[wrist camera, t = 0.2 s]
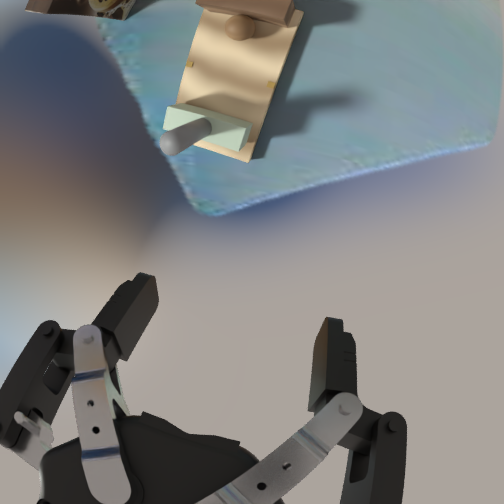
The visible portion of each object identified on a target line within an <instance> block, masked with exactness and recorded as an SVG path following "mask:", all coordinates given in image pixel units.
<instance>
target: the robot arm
mask: <svg viewBox="0 0 504 504" xmlns="http://www.w3.org/2000/svg"><path fill="white" fill-rule="evenodd" d="M158 302H159V297H158V291H157V285H156V279H155V276H152V275H148V274H145V273H141V272H140V273H138V274H137V275H136V277H135V278H134V279H133V281H130V280H127V281H126V282H124V283H123V284H121V285H120V286H119V287H118V288H117V290H116V291H115V292H114V295H112V296H111V298H110V299H109V301H108V302H107V303H106V305H105V306H104V307H103V309H102V310H101V311H100V313H99V314H98V315H97V317H96V318H95V320H94V321H93V322H92V324H91V325H84V326H81V327H80V328H79V329H77V330H67V329H61V328H60V326H59V324H58V323H57V322H56V321H53V320H48V321H45V322H43V323H42V324H41V325H40V326H39V327H38V328H37V330H36V331H35V333H34V334H33V336H32V337H31V339H30V340H29V342H28V343H27V345H26V346H25V348H24V350H23V351H22V353H21V354H20V356H19V358H18V359H17V361H16V363H15V364H14V366H13V368H12V369H11V371H10V373H9V375H8V376H7V378H6V380H5V382H4V383H3V385H2V387H1V389H0V444H1V445H2V446H3V447H5V448H7V449H8V450H10V451H12V452H14V453H16V454H17V455H18V456H20V457H21V458H22V459H23V460H25V461H26V462H27V463H29V464H30V465H31V466H33V467H34V468H35V469H37V470H38V471H39V477H40V497H39V500H38V502H37V504H284V502H283V500H282V499H281V497H282V496H284V495H285V494H286V493H287V492H288V491H289V490H291V489H292V488H293V487H294V486H295V485H297V483H299V482H300V481H301V480H302V479H303V478H305V477H306V476H307V475H308V474H309V473H310V472H311V471H312V470H313V469H314V468H315V467H316V466H317V465H318V464H320V462H322V461H323V460H324V458H325V457H326V456H327V455H328V453H329V451H330V450H331V449H332V448H333V447H334V446H335V445H336V444H337V445H340V446H343V447H345V448H347V449H349V454H348V461H347V467H346V473H345V480H344V485H343V491H342V495H341V500H340V504H402V497H403V488H404V478H405V465H406V446H407V424H406V421H405V419H404V418H403V417H402V415H400V414H399V413H397V412H387V413H385V414H384V415H382V414H379V413H377V412H374V411H372V410H370V409H368V408H366V407H365V406H364V405H362V403H361V401H360V400H359V398H358V395H357V368H356V367H357V364H356V343H355V341H354V339H353V337H352V334H351V333H348V332H343V320H342V319H336V318H331V317H326V318H325V320H324V322H323V324H322V327H321V329H320V331H319V333H318V335H317V337H316V340H315V345H314V351H313V363H312V374H311V386H310V394H309V404H308V411H310V412H314V417H313V418H312V419H311V420H310V421H309V422H308V423H307V424H306V425H305V426H304V427H302V428H301V429H300V430H298V431H297V432H296V433H295V434H294V435H293V436H291V437H290V438H289V439H288V440H287V441H285V442H284V443H283V444H282V445H281V446H279V447H278V448H277V449H276V450H274V451H273V452H272V453H271V454H269V455H268V456H267V457H265V458H264V459H263V460H262V461H259V460H258V459H257V458H256V457H255V456H254V455H253V454H252V453H251V452H249V451H248V450H246V449H245V448H243V447H241V446H239V444H240V441H236V440H231V439H227V438H223V437H219V436H214V435H197V434H188V433H186V432H184V431H182V430H181V429H179V428H177V427H176V426H174V425H173V424H171V423H169V422H168V421H166V420H165V419H162V418H159V417H156V416H154V415H151V414H149V413H146V412H144V411H143V412H142V415H141V416H135V415H132V416H130V413H129V410H128V407H127V405H126V402H125V400H124V397H123V392H122V388H121V383H120V379H119V374H118V368H117V364H116V363H117V362H118V360H119V359H122V360H124V361H127V360H128V358H129V356H130V355H131V353H132V351H133V349H134V347H135V346H136V344H137V342H138V340H139V339H140V337H141V335H142V333H143V332H144V330H145V328H146V326H147V325H148V323H149V321H150V320H151V318H152V316H153V315H154V313H155V311H156V309H157V306H158ZM51 361H52V362H51ZM49 364H50V365H49ZM48 366H49V367H48ZM47 368H48V369H47ZM45 371H46V372H45ZM44 373H45V374H44ZM43 375H44V376H43ZM74 376H75V377H74ZM70 384H71V386H72V395H73V403H74V410H75V416H76V422H77V428H78V433H79V437H77V438H75V439H73V440H71V441H69V442H66V443H64V444H61V445H59V446H57V447H54V448H52V447H51V443H52V442H53V440H54V437H53V432H52V428H51V424H52V421H53V419H54V417H55V415H56V413H57V410H58V408H59V406H60V404H61V402H62V400H63V398H64V396H65V394H66V392H67V390H68V388H69V386H70Z"/></svg>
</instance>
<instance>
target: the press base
mask: <svg viewBox="0 0 504 504" xmlns="http://www.w3.org/2000/svg"><path fill="white" fill-rule="evenodd" d="M196 4H197V5H199V6H201V7H203V8H204V10H203V13H202V16H201V19H200V22H199V25H198V28H197V31H196V34H195V37H194V40H193V43H192V46H191V49H190V53H189V56H188V59H187V63H186V66H185V70H184V74H183V77H182V81H181V85H180V89H179V93H178V97H177V101H176V104H179V103H184V104H188V105H192V106H196V107H200V108H204V109H207V110H211V111H215V112H218V113H222V114H225V115H228V116H232V117H235V118H238V119H241V120H244V121H248V122H251V123H253V125H252V128H251V131H250V134H249V137H248V140H247V143H246V145H245V146H244V147H243V148H242V149H241V150H240V151H239V152H237V151H234V150H231V149H228V148H225V147H222V146H219V145H216V144H213V143H210V142H206V141H203V140H200V141H198V142H196V143H195V144H193V145H195V146H199V147H202V148H205V149H208V150H211V151H214V152H218V153H221V154H224V155H227V156H230V157H233V158H235V159H238V160H241V161H244V162H247V163H249V161H250V160H251V157H252V154H253V151H254V148H255V145H256V142H257V140H258V137H259V134H260V131H261V128H262V125H263V122H264V119H265V116H266V114H267V111H268V108H269V105H270V102H271V100H272V97H273V94H274V91H275V88H276V86H277V83H278V80H279V77H280V75H281V72H282V69H283V67H284V64H285V61H286V59H287V56H288V53H289V51H290V48H291V45H292V43H293V40H294V38H295V35H296V32H297V30H298V27H299V25H300V22H301V20H302V17H303V15H304V13H303V11H300V10H297V9H295V6H294V2H293V0H196Z"/></svg>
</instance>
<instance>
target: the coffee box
mask: <svg viewBox="0 0 504 504" xmlns="http://www.w3.org/2000/svg"><path fill="white" fill-rule="evenodd" d="M135 1H136V0H29V2H28V4H27V6H26V9H25V11H30V12H37V13H43V14H70V15H84V16H94V17H103V18H110V19H117V20H122V21H124V20H125V19H126V17H127V15H128V13H129V12H130V10H131V8H132V6H133V5H134V3H135Z"/></svg>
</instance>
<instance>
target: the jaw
mask: <svg viewBox="0 0 504 504" xmlns="http://www.w3.org/2000/svg"><path fill="white" fill-rule="evenodd" d="M252 125H253V123H251V122H248V121H244V120H241V119H238V118H235V117H232V116H228V115H225V114H222V113H218V112H215V111H211V110H207V109H204V108H200V107H196V106H192V105H188V104H184V103H179V104H175V105H171V106H168V107H167V112H166V116H165V121H164V126H163V129H165V130H168V131H167V132H165V133H164V134H163V135H162V136H161V138H160V147H161V149H162V151H163V152H164V153H165V154H167V155H170V156H174V155H177V154H178V153H180V152H182V151H183V150H185V149H186V148H188V147H190V146H191V145H193V144H195V143H196V142H198V141H200V140H203V141H206V142H210V143H213V144H216V145H219V146H222V147H225V148H228V149H231V150H234V151H237V152H239V151H240V150H241V149H242V148H243V147H244V146H245V145H246V143H247V140H248V137H249V134H250V131H251V128H252Z"/></svg>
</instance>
